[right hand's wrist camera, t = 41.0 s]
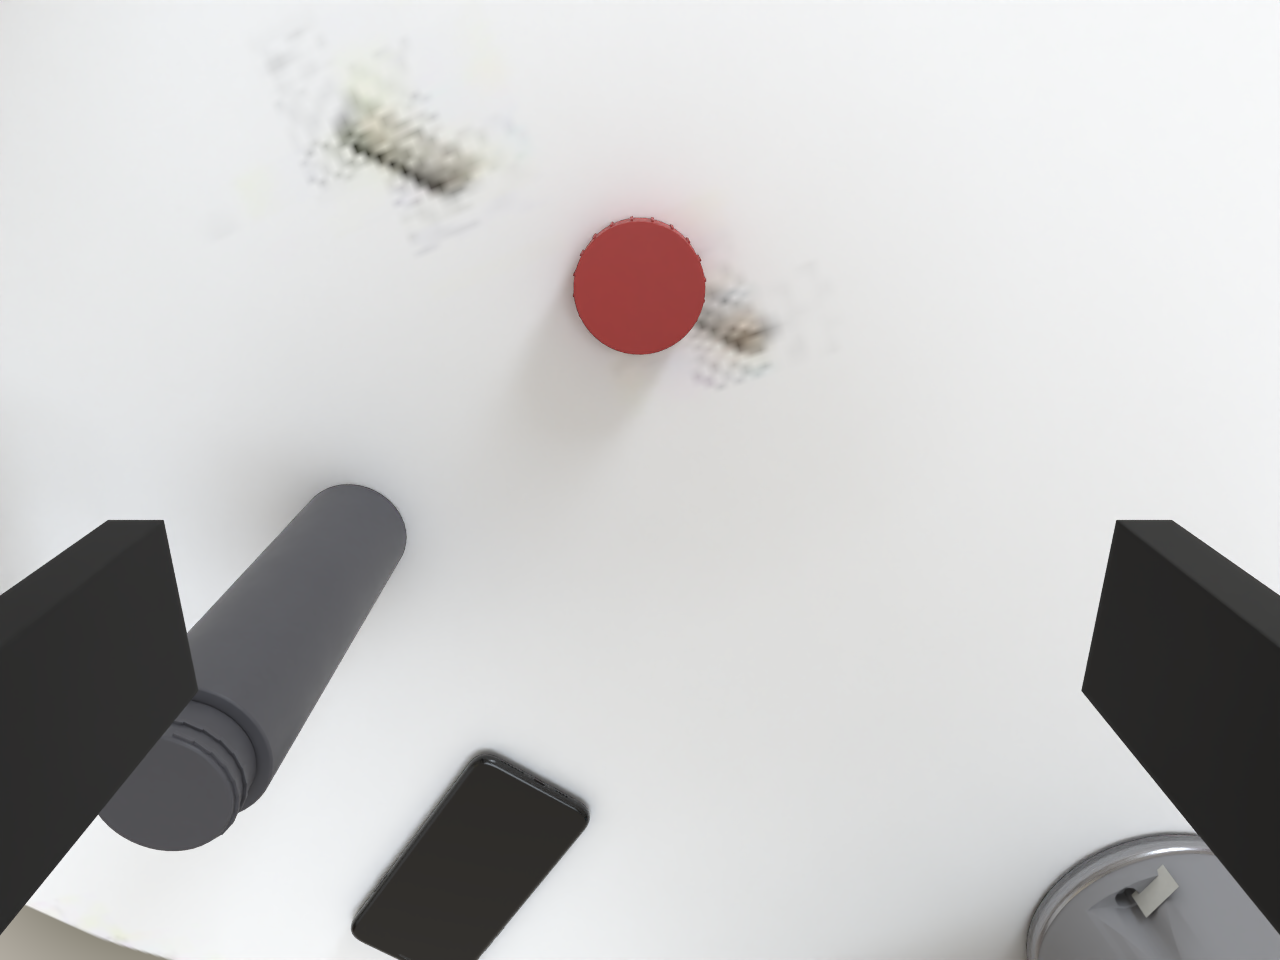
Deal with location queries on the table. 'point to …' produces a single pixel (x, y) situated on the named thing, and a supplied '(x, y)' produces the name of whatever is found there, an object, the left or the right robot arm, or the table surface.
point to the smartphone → (470, 865)
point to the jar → (261, 669)
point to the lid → (639, 286)
